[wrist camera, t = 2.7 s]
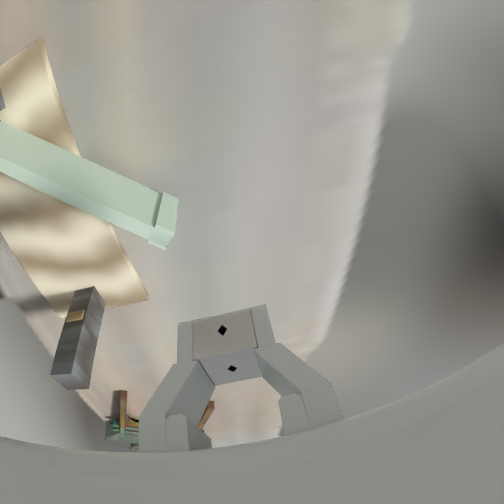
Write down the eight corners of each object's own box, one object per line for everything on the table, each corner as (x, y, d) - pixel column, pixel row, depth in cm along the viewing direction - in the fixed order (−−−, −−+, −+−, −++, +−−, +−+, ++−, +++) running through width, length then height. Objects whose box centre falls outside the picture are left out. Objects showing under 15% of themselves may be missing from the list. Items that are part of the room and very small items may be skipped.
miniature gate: (234, 415, 54) (201, 457, 68) (230, 393, 58) (199, 440, 72) (99, 400, 45) (105, 447, 59) (102, 377, 49) (106, 430, 63)
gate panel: (-10, 132, 18) (-43, 153, 13) (-5, 115, 17) (-40, 133, 13) (170, 214, 27) (164, 250, 23) (178, 199, 26) (174, 233, 22)
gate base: (-46, 109, 15) (-126, 159, 5) (43, 39, 15) (-55, 51, 5) (62, 312, 35) (40, 394, 24) (148, 294, 35) (139, 389, 25)
